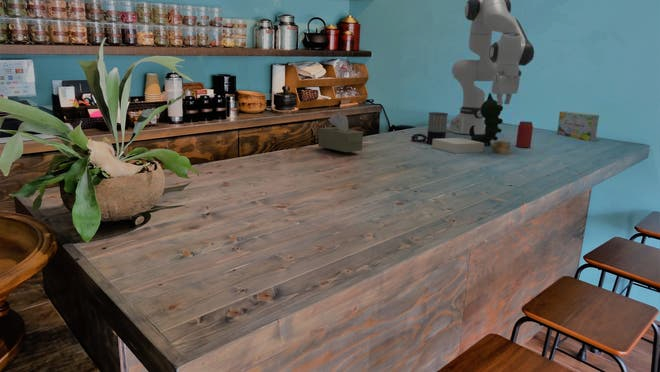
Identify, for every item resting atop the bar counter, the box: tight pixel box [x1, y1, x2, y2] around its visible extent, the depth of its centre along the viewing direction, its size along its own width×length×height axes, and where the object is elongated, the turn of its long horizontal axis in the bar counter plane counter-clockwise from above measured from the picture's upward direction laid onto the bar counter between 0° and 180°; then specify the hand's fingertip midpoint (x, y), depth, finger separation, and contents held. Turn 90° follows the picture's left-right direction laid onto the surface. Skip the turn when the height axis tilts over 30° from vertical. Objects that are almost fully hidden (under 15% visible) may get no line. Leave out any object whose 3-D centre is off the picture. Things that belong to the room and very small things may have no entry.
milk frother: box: [410, 111, 449, 146], centre depth 244 cm, size 14×16×15 cm
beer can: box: [515, 120, 534, 149], centre depth 242 cm, size 7×7×12 cm
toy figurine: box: [468, 92, 504, 147], centre depth 243 cm, size 9×19×25 cm, turn 27°
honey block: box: [491, 140, 511, 155], centre depth 222 cm, size 5×5×5 cm
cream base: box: [431, 137, 485, 154], centre depth 226 cm, size 16×16×4 cm
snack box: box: [556, 110, 600, 142], centre depth 274 cm, size 21×6×15 cm, turn 25°
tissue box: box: [318, 111, 364, 153], centre depth 217 cm, size 19×10×16 cm, turn 39°
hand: (503, 104), depth 218 cm, fingers open, 6 cm apart
